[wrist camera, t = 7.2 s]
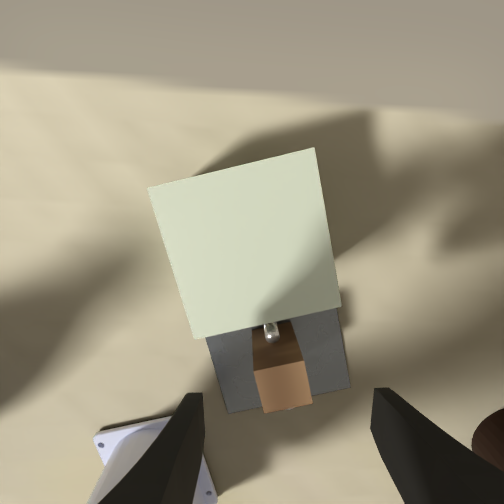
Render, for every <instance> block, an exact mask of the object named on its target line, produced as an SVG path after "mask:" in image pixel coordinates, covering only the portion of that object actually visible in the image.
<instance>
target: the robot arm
mask: <svg viewBox="0 0 504 504" xmlns="http://www.w3.org/2000/svg"><path fill="white" fill-rule="evenodd" d="M370 429H371V432H372V435H373V437H374V440H375V443H376V445H377V448H378V450H379V453H380V455H381V458H382V460H383V462H384V464H385V466H386V468H387V470H388V472H389V474H390V475H391V477H392V479H393V481H394V483H395V485H396V487H397V489H398V491H399V493H400V495H401V497H402V499H403V501H404V503H405V504H504V472H503V471H502V470H500V469H499V468H497V467H495V466H494V465H492V464H491V463H489V462H488V461H486V460H484V459H483V458H481V457H480V456H478V455H477V454H475V453H474V452H472V451H471V450H469V449H468V448H467V447H465V446H464V445H462V444H461V443H460V442H458V441H457V440H455V439H454V438H453V437H451V436H450V435H449V434H447V433H446V432H445V431H443V430H442V429H441V428H439V427H438V426H437V425H435V424H434V423H433V422H432V421H430V420H429V419H428V418H426V417H425V416H424V415H423V414H421V413H420V412H419V411H418V410H416V409H415V408H414V407H413V406H411V405H410V404H409V403H408V402H406V401H405V400H404V399H403V398H401V397H400V396H399V395H398V394H396V393H395V392H394V391H393V390H391V389H390V388H374V396H373V406H372V416H371V426H370ZM204 438H205V426H204V410H203V394H202V393H187V394H186V395H185V396H184V398H183V400H182V401H181V403H180V405H179V406H178V408H177V409H176V411H175V412H174V414H173V415H172V416H168V417H164V418H159V419H155V420H150V421H145V422H141V423H136V424H132V425H127V426H122V427H118V428H113V429H109V430H104V431H99V432H97V433H96V434H95V436H94V437H93V441H94V444H95V446H96V448H97V450H98V453H99V455H100V457H101V459H102V462H103V464H104V466H105V467H104V469H103V471H102V473H101V475H100V477H99V479H98V481H97V483H96V485H95V487H94V489H93V491H92V493H91V495H90V497H89V499H88V501H87V503H86V504H217V502H218V496H217V493H216V490H215V487H214V484H213V481H212V478H211V476H210V473H209V470H208V467H207V464H206V461H205V458H204V455H203V446H204Z"/></svg>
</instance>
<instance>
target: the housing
mask: <svg viewBox="0 0 504 504" xmlns="http://www.w3.org/2000/svg"><path fill="white" fill-rule="evenodd" d="M147 190H148V194H149V197H150V200H151V203H152V206H153V209H154V213H155V216H156V219H157V222H158V225H159V229H160V232H161V235H162V238H163V241H164V245H165V248H166V251H167V254H168V257H169V261H170V264H171V267H172V270H173V273H174V276H175V280H176V283H177V286H178V289H179V292H180V296H181V299H182V302H183V305H184V308H185V312H186V315H187V318H188V321H189V324H190V327H191V331H192V334H193V337H194V340H196V339H200V338H205V337H209V336H214V335H218V334H222V333H227V332H231V331H236V330H240V329H245V328H249V327H254V326H258V325H262V324H267V323H271V322H276V321H280V320H285V319H289V318H293V317H298V316H302V315H307V314H311V313H316V312H320V311H324V310H329V309H333V308H338V307H342V304H341V298H340V292H339V286H338V281H337V275H336V269H335V263H334V257H333V252H332V246H331V240H330V234H329V229H328V223H327V217H326V211H325V205H324V200H323V194H322V188H321V182H320V176H319V171H318V165H317V159H316V153H315V148H314V147H313V148H309V149H305V150H301V151H297V152H292V153H288V154H284V155H280V156H276V157H272V158H268V159H264V160H260V161H256V162H251V163H247V164H243V165H239V166H235V167H231V168H227V169H223V170H219V171H214V172H210V173H206V174H202V175H198V176H194V177H190V178H186V179H182V180H178V181H173V182H169V183H165V184H161V185H157V186H153V187H149V188H147Z"/></svg>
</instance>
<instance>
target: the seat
mask: <svg viewBox="0 0 504 504" xmlns="http://www.w3.org/2000/svg"><path fill="white" fill-rule="evenodd" d="M287 322H291V323H292V326H293V329H294V332H295V335H296V338H297V341H298V344H299V347H300V350H301V353H302V356H303V359H304V363H305V368H306V372H307V377H308V382H309V387H310V392H311V396H313V395H318V394H323V393H327V392H332V391H336V390H341V389H346V388H350V381H349V376H348V370H347V364H346V359H345V353H344V348H343V342H342V336H341V331H340V325H339V320H338V314H337V308H333V309H329V310H324V311H320V312H316V313H311V314H307V315H302V316H298V317H293V318H289V319H285V320H280V321H276V322H271V323H267V324H262V325H258V326H254V327H249V328H245V329H240V330H236V331H231V332H227V333H222V334H218V335H214V336H209V337H205V338H206V341H207V345H208V348H209V351H210V355H211V358H212V361H213V365H214V368H215V371H216V374H217V378H218V381H219V384H220V388H221V391H222V394H223V398H224V401H225V404H226V408H227V411H228V414H230V413H235V412H239V411H244V410H249V409H253V408H258V407H262V403H261V399H260V395H259V391H258V387H257V383H256V379H255V376H254V372H253V350H252V330H255V329H259V328H264V331H265V338H266V340H267V341H268V342H269V343H275V342H277V341H278V340H279V337H280V336H279V331H278V327H277V325H278V324H283V323H287ZM291 409H293V408H289V409H286V410H291Z"/></svg>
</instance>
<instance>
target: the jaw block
mask: <svg viewBox="0 0 504 504" xmlns="http://www.w3.org/2000/svg"><path fill="white" fill-rule="evenodd" d="M277 327H278V331H279V336H280V337H279V340H278V341H277V342H275V343H269V342H268V341H267V340H266V338H265V331H264V328H259V329H255V330H252V350H253V372H254V376H255V379H256V383H257V387H258V391H259V395H260V399H261V403H262V407H263V411H264V414H265V413H270V412H275V411H279V410H284V409H289V408H294V407H299V406H304V405H308V404H313V402H312V397H311V392H310V387H309V382H308V377H307V372H306V368H305V363H304V359H303V356H302V353H301V350H300V347H299V344H298V341H297V338H296V335H295V332H294V329H293V326H292V323H291V322H287V323H283V324H278V325H277Z"/></svg>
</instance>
